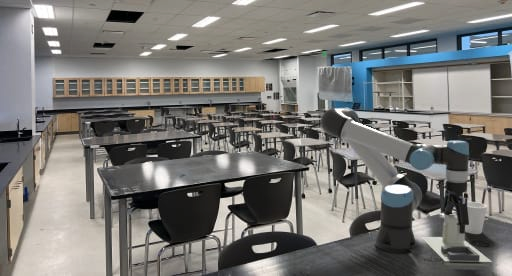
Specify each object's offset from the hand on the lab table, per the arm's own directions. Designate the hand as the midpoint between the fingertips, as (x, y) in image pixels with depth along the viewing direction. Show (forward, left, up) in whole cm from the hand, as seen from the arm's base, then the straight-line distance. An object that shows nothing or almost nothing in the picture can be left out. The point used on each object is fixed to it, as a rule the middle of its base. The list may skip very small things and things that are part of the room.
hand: (453, 235), depth 149 cm
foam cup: (+13, +12, -4) cm, 18 cm away
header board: (-3, -7, -4) cm, 9 cm away
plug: (0, 0, -2) cm, 2 cm away
